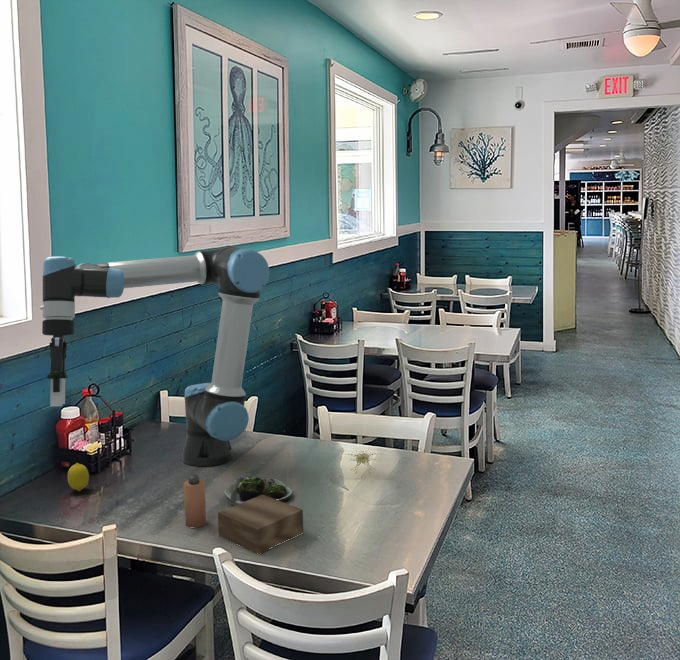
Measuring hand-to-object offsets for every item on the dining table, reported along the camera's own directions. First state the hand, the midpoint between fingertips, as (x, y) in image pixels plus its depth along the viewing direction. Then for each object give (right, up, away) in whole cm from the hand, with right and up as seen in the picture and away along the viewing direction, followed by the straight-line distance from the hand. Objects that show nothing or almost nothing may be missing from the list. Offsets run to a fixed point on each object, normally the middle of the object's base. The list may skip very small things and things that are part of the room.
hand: (57, 405), depth 187 cm
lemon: (-1, -26, +19) cm, 32 cm away
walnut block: (+51, -30, -9) cm, 60 cm away
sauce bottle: (+34, -29, -2) cm, 45 cm away
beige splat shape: (+76, -22, +30) cm, 85 cm away
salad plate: (+48, -26, +14) cm, 56 cm away
